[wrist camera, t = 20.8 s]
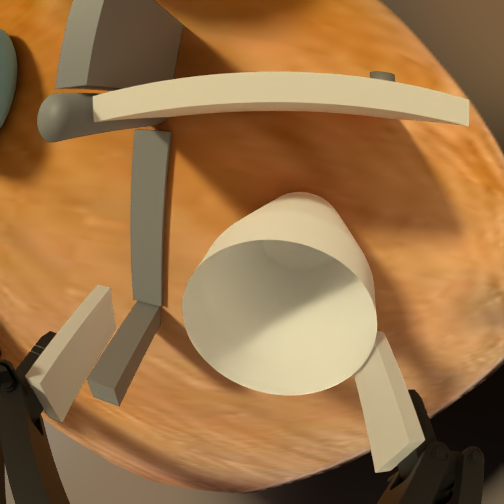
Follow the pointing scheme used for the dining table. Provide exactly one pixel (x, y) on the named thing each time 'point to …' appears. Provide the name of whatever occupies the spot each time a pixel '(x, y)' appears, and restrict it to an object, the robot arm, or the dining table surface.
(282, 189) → the dining table surface
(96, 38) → the grey u-shaped bar
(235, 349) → the cup
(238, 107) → the curved cream plank
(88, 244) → the dining table surface
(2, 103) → the sugar bowl
